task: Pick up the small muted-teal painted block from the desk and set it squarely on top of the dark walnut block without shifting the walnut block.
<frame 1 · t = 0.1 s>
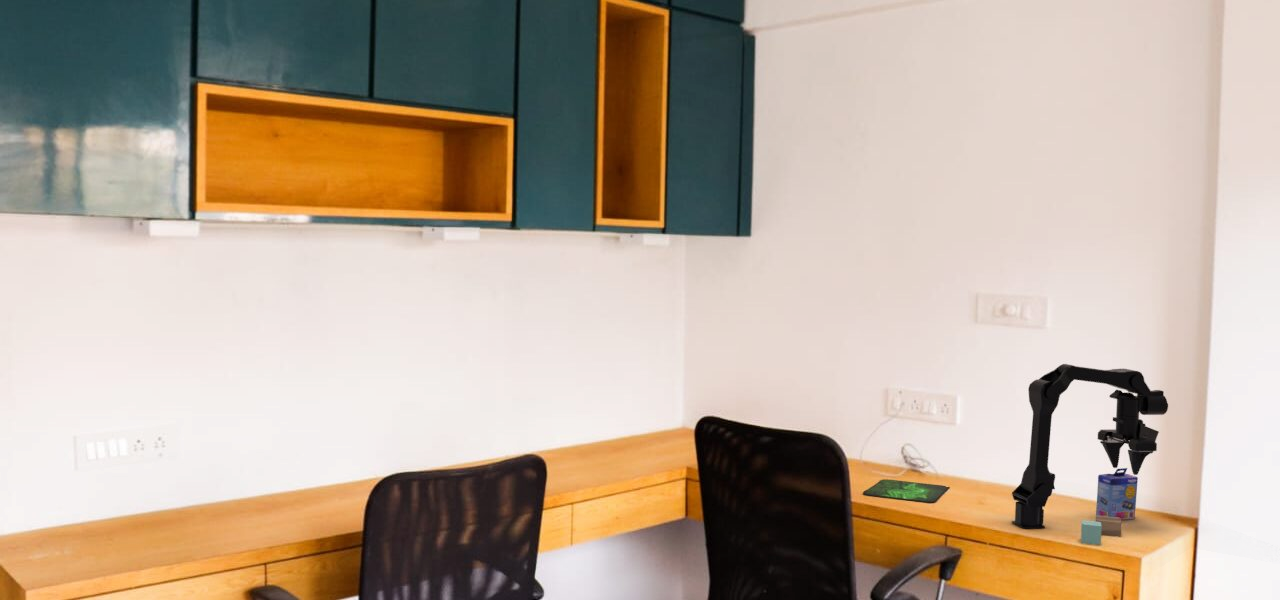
hand: (1125, 471, 302), 15 cm above the table, tool pointing down, fingers open, 9 cm apart
mouse mat: (907, 492, 339), on the table
walnut block: (1107, 533, 293), on the table
teal block: (1090, 542, 283), on the table
ink cartridge box: (1115, 518, 309), on the table
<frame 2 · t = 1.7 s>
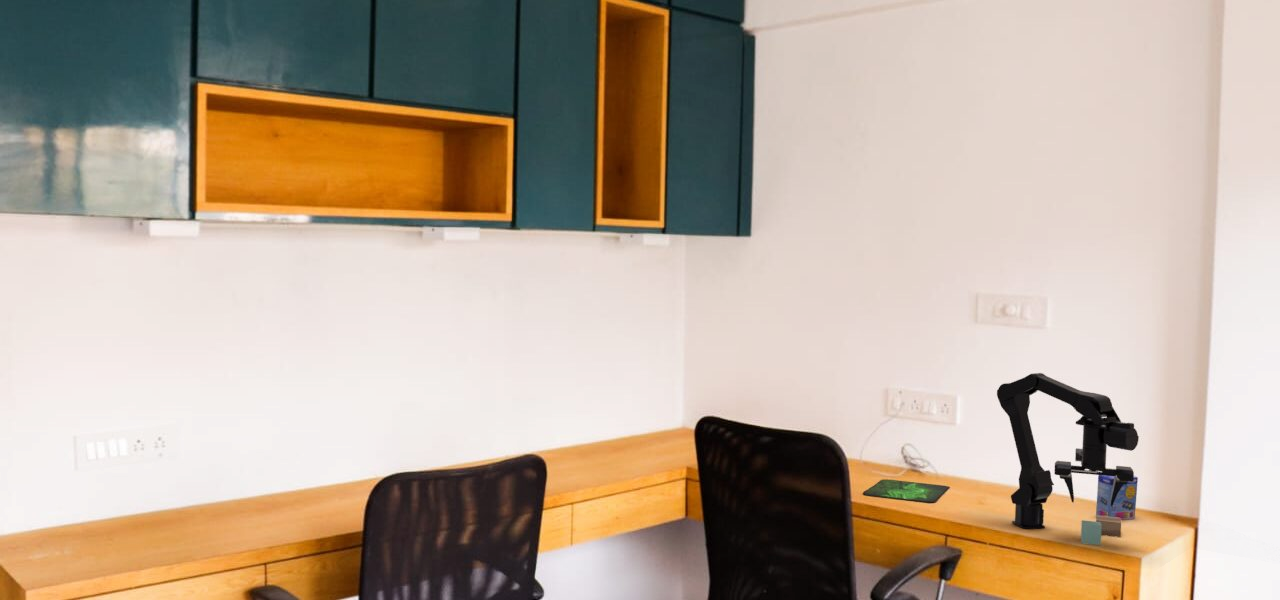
hand: (1091, 504, 283), 10 cm above the table, tool pointing down, fingers open, 9 cm apart
nothing on the table moved.
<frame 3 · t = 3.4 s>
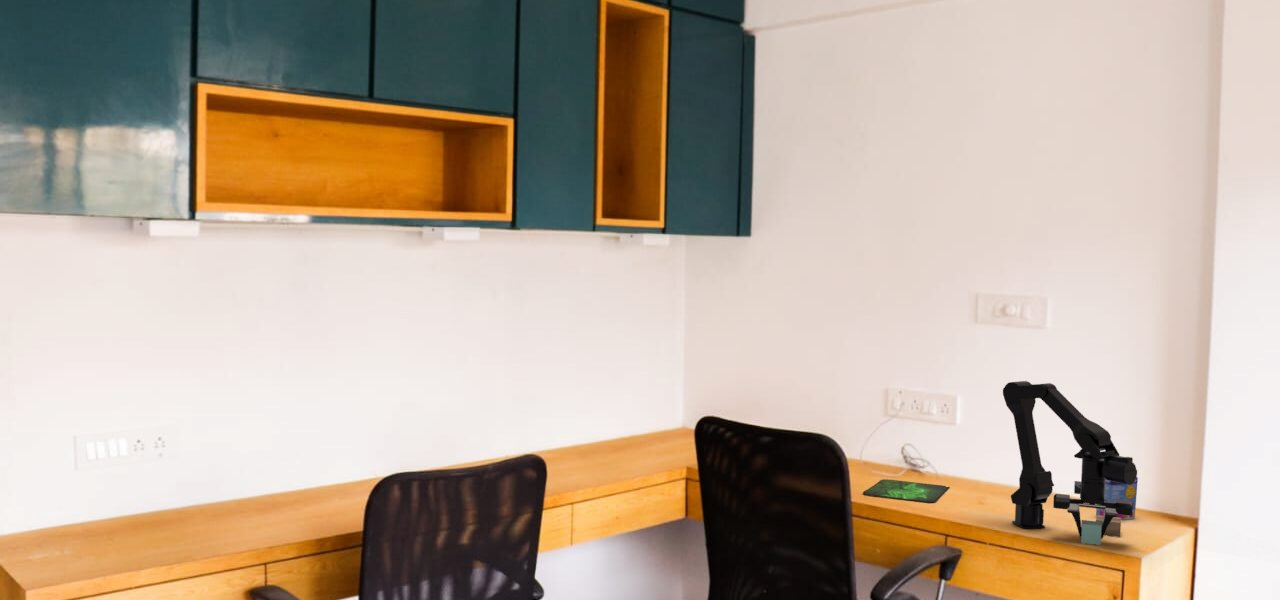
hand: (1090, 537, 283), 1 cm above the table, tool pointing down, fingers closed on teal block, 5 cm apart
teal block: (1090, 542, 283), on the table, touching gripper
everything else where it was.
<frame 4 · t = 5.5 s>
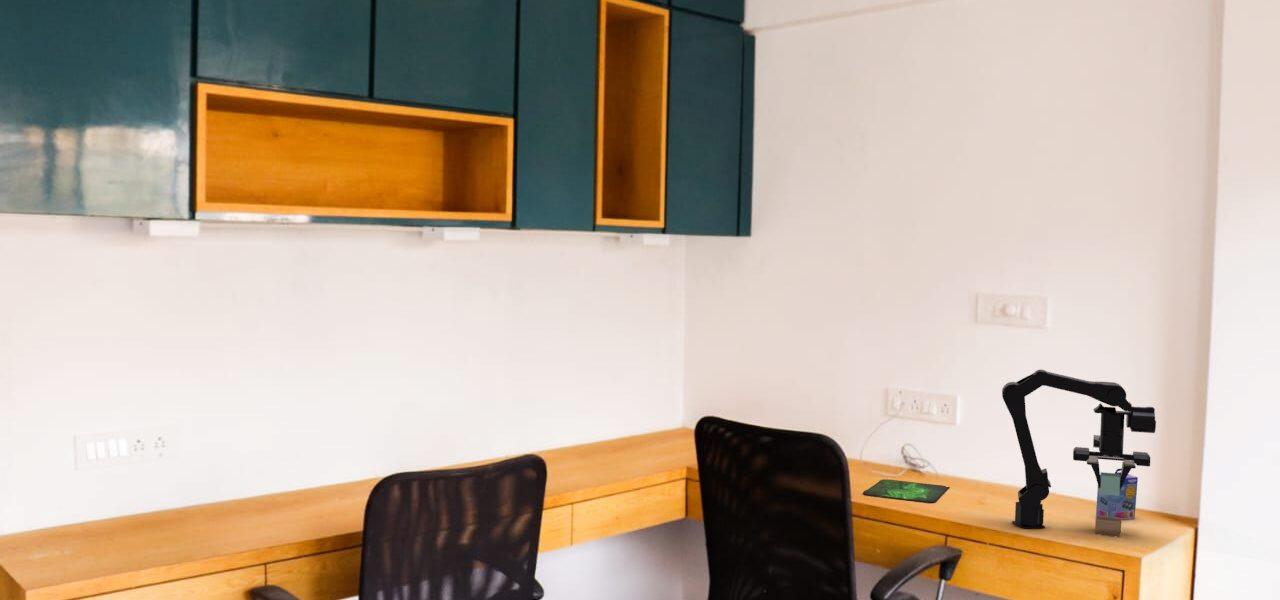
hand: (1109, 488, 292), 12 cm above the table, tool pointing down, fingers closed on teal block, 5 cm apart
teal block: (1109, 493, 292), point 11 cm above the table, touching gripper
everything else where it was.
when the fingers open (6 cm above the table, at t = 7.7 s): teal block stays where it is, resting on walnut block.
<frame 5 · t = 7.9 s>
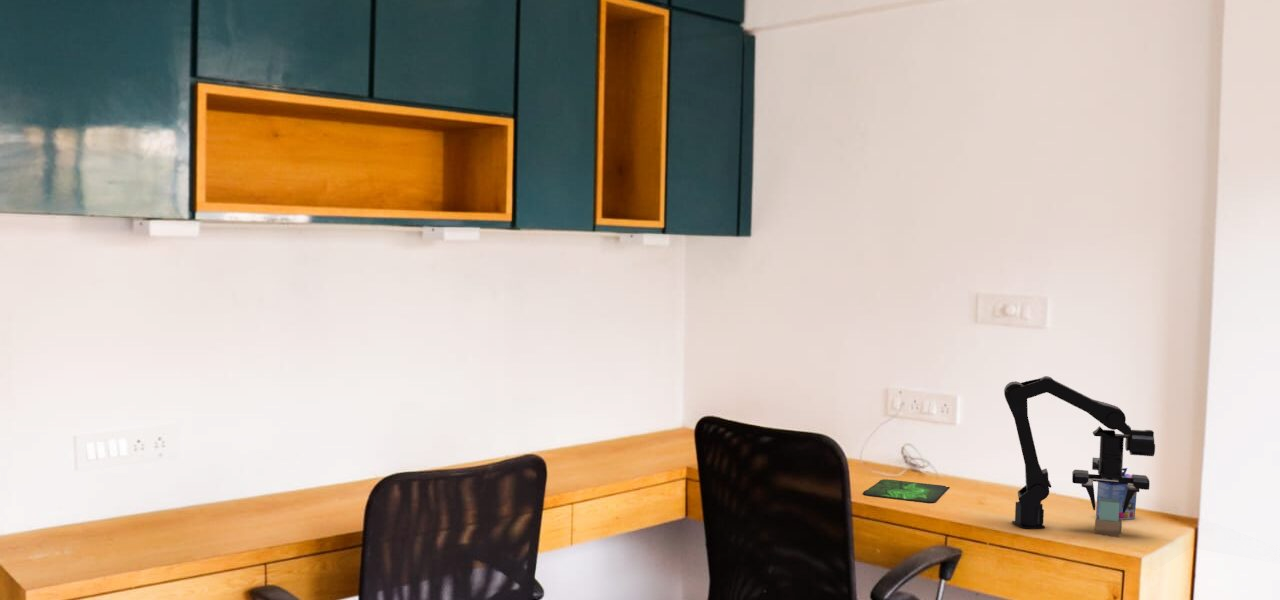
hand: (1108, 511, 292), 6 cm above the table, tool pointing down, fingers open, 7 cm apart
walnut block: (1108, 533, 293), on the table, touching teal block
teal block: (1108, 519, 292), point 4 cm above the table, touching walnut block
everything else where it was.
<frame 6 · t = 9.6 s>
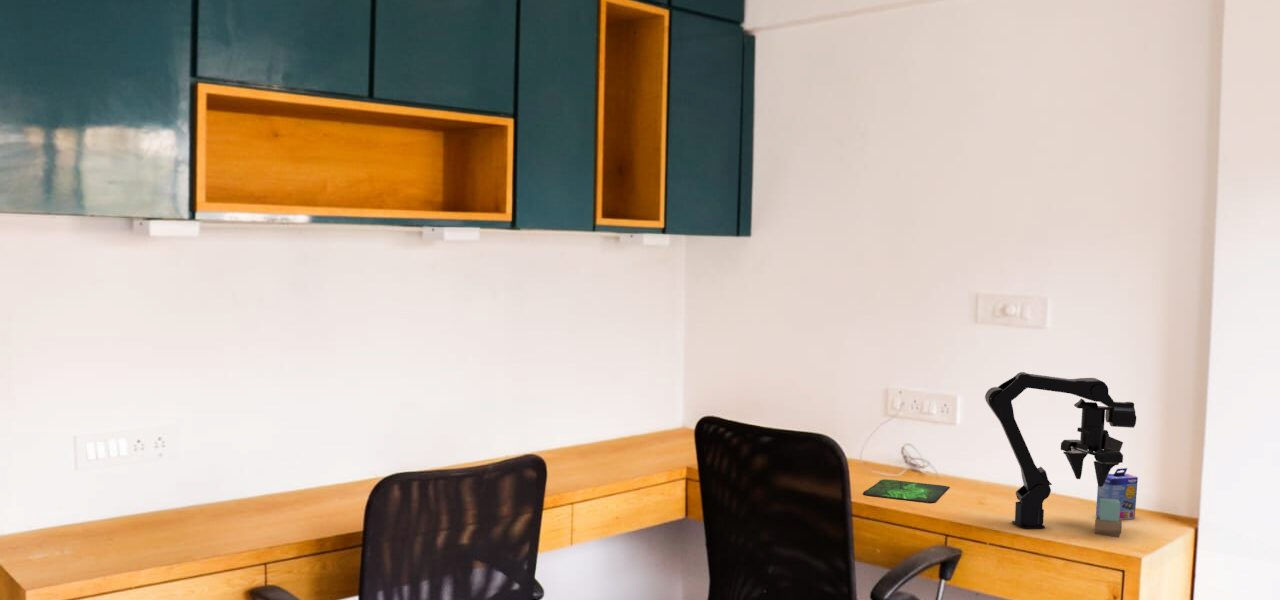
hand: (1089, 482, 296), 13 cm above the table, tool pointing down, fingers open, 9 cm apart
walnut block: (1108, 533, 293), on the table
teal block: (1109, 519, 292), point 4 cm above the table
everything else where it was.
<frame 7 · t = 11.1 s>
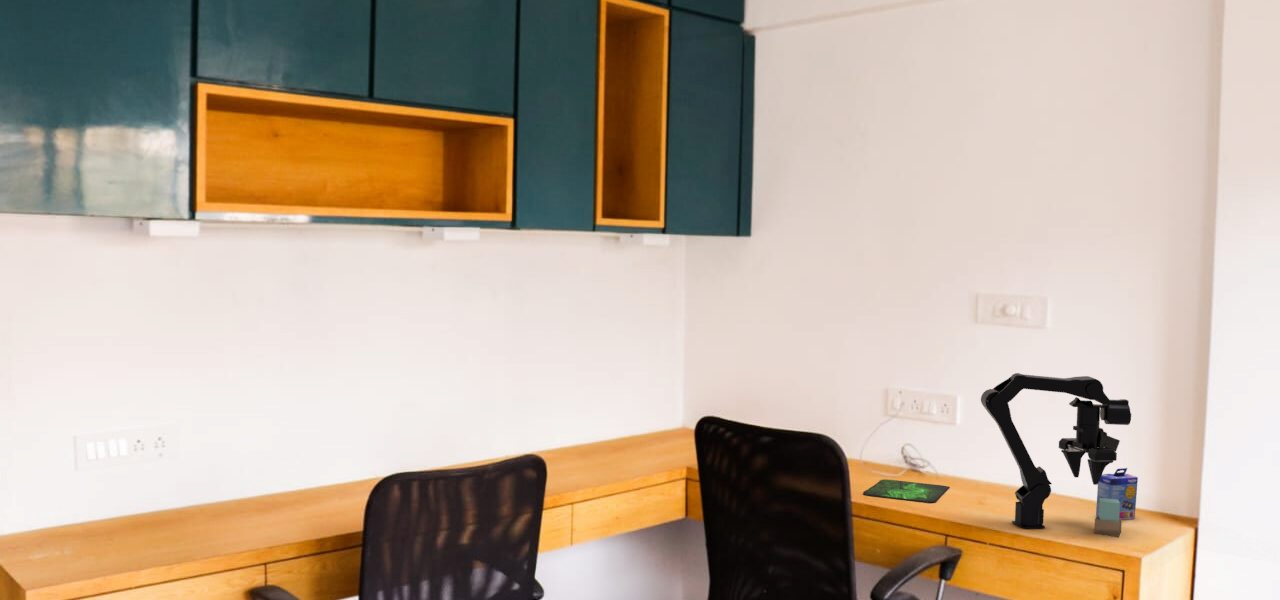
hand: (1085, 480, 296), 13 cm above the table, tool pointing down, fingers open, 9 cm apart
walnut block: (1107, 533, 293), on the table, touching teal block
teal block: (1108, 519, 292), point 4 cm above the table, touching walnut block
everything else where it was.
at the end: teal block 0.1 cm off-centre on the walnut block, point 4.0 cm above the walnut block's base; teal block tilted 0°; walnut block moved 0.3 cm from its start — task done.
